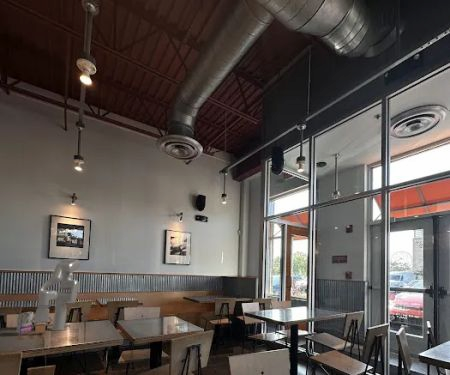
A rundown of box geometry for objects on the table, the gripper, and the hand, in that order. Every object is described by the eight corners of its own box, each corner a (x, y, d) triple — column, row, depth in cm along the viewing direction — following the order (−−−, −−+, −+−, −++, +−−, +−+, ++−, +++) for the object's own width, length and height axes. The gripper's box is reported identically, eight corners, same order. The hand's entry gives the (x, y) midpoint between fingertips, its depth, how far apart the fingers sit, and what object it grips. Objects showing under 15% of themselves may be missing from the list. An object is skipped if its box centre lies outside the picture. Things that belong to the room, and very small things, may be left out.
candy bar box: (26, 332, 290) (29, 311, 293) (31, 332, 288) (34, 312, 292) (15, 334, 279) (18, 313, 283) (19, 335, 278) (22, 313, 281)
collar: (45, 330, 282) (45, 324, 283) (44, 332, 276) (45, 325, 277) (35, 331, 279) (36, 324, 280) (34, 333, 273) (35, 326, 274)
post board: (46, 334, 284) (47, 324, 285) (46, 339, 266) (47, 329, 268) (18, 336, 275) (19, 326, 277) (15, 341, 258) (17, 330, 259)
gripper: (55, 306, 288) (52, 329, 284) (31, 306, 281) (28, 330, 277) (55, 307, 281) (52, 331, 278) (30, 308, 274) (27, 332, 270)
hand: (40, 330), depth 277 cm, fingers closed on collar, 6 cm apart
